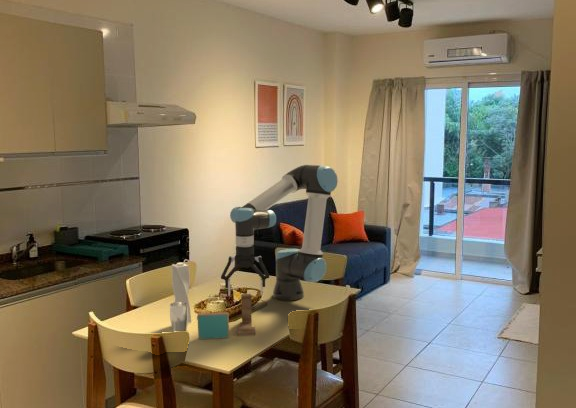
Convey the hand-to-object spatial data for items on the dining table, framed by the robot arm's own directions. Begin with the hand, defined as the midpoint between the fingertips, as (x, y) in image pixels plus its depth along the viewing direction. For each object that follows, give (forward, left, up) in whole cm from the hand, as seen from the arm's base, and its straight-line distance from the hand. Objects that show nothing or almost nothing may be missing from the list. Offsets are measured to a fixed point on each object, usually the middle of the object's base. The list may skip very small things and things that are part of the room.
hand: (245, 294), depth 236 cm
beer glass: (+26, +17, -13) cm, 33 cm away
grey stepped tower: (0, +6, -12) cm, 14 cm away
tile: (+13, +15, -13) cm, 23 cm away
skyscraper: (+27, -2, -13) cm, 30 cm away
